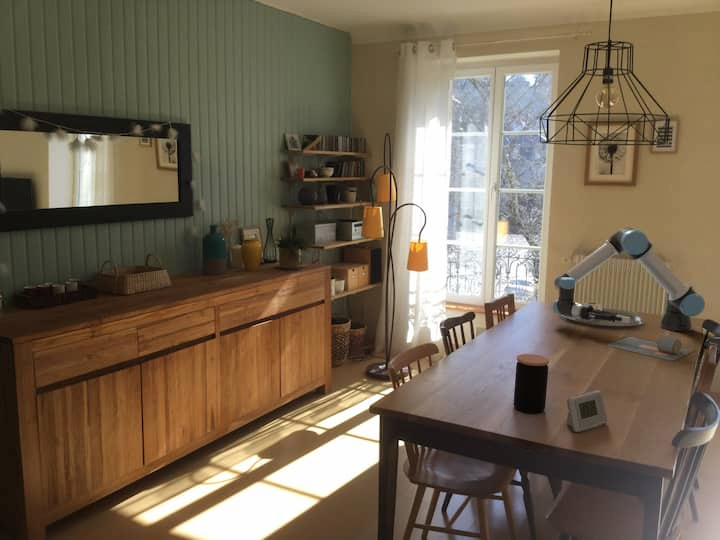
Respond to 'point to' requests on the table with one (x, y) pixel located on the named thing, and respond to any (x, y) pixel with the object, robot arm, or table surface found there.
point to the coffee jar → (531, 383)
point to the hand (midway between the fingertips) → (629, 320)
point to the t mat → (647, 348)
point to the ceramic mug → (668, 344)
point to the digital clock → (586, 411)
